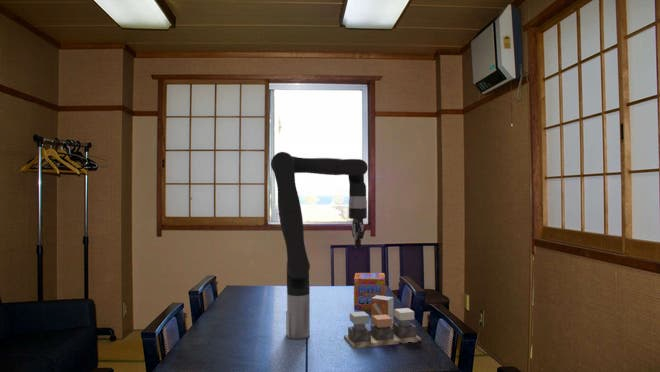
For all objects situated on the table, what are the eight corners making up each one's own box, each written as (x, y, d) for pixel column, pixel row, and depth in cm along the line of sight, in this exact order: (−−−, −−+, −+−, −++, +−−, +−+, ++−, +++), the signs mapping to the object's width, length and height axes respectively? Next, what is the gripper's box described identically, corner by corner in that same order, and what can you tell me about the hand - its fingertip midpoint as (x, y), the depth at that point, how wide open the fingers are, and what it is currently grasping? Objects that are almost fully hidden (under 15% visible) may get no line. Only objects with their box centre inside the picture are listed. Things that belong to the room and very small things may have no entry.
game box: (385, 310, 226) (385, 278, 226) (353, 310, 228) (353, 278, 228) (385, 302, 242) (384, 272, 242) (355, 302, 243) (355, 272, 243)
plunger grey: (354, 334, 177) (354, 316, 177) (349, 330, 183) (349, 312, 183) (369, 333, 179) (369, 315, 179) (364, 328, 184) (364, 311, 184)
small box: (370, 328, 198) (370, 297, 198) (376, 324, 204) (376, 294, 204) (388, 331, 194) (388, 300, 194) (393, 327, 200) (393, 296, 200)
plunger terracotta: (377, 337, 180) (377, 319, 180) (372, 333, 185) (372, 315, 185) (392, 336, 181) (391, 318, 181) (386, 331, 187) (386, 314, 187)
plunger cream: (400, 330, 182) (400, 312, 182) (394, 326, 188) (394, 309, 188) (414, 329, 184) (414, 311, 184) (407, 325, 189) (407, 307, 189)
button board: (353, 348, 174) (353, 334, 174) (343, 338, 185) (343, 325, 185) (421, 341, 181) (421, 328, 181) (408, 332, 193) (408, 319, 193)
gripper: (344, 206, 199) (344, 246, 199) (354, 207, 186) (354, 251, 186) (361, 206, 201) (361, 246, 201) (371, 207, 188) (371, 250, 188)
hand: (357, 248), depth 193 cm, fingers closed
